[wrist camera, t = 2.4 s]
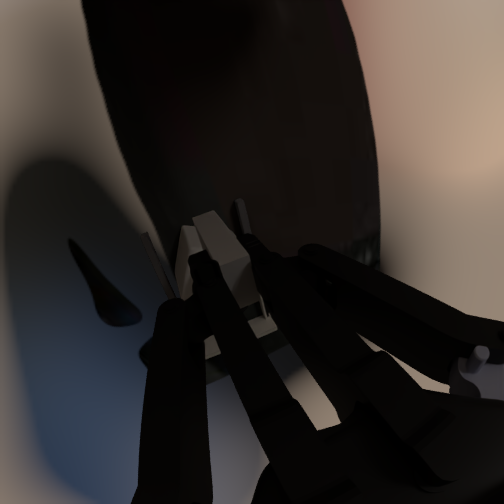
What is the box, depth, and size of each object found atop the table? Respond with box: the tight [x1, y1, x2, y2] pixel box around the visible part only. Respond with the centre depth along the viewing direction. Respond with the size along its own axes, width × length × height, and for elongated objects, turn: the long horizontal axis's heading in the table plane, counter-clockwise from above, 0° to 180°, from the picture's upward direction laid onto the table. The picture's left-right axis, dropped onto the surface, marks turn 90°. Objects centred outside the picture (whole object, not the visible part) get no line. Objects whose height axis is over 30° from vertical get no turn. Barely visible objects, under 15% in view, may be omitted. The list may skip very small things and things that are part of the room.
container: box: [174, 225, 248, 312], centre depth 35 cm, size 8×8×13 cm
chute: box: [141, 198, 277, 359], centre depth 42 cm, size 24×15×4 cm, turn 13°
